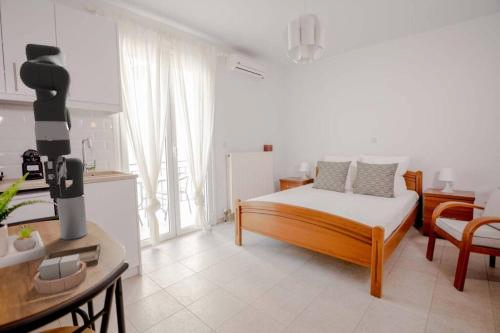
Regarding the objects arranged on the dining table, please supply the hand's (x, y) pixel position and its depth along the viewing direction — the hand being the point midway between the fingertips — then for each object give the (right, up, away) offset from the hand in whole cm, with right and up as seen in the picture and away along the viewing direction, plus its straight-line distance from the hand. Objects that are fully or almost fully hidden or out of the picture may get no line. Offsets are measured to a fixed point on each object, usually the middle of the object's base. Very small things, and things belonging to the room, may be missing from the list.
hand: (59, 194), depth 71 cm
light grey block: (-1, -25, -1) cm, 25 cm away
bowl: (+1, -25, 0) cm, 25 cm away
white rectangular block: (+3, -25, +1) cm, 25 cm away
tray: (-5, -24, +12) cm, 27 cm away
